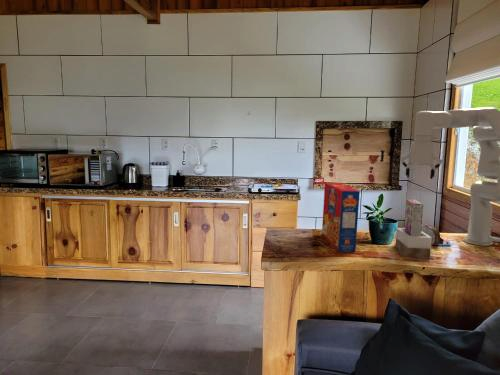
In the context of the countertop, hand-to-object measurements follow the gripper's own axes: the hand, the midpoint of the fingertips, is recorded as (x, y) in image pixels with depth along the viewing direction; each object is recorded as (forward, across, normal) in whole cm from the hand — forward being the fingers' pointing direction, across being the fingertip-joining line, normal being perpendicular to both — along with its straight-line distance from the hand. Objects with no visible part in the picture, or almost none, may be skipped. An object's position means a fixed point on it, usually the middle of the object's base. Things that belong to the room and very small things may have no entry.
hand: (419, 177), depth 169 cm
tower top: (+30, 0, 0) cm, 30 cm away
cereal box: (+34, +34, +2) cm, 49 cm away
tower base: (+35, 0, 0) cm, 35 cm away
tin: (+35, -9, -20) cm, 41 cm away
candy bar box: (+28, +1, 0) cm, 28 cm away
